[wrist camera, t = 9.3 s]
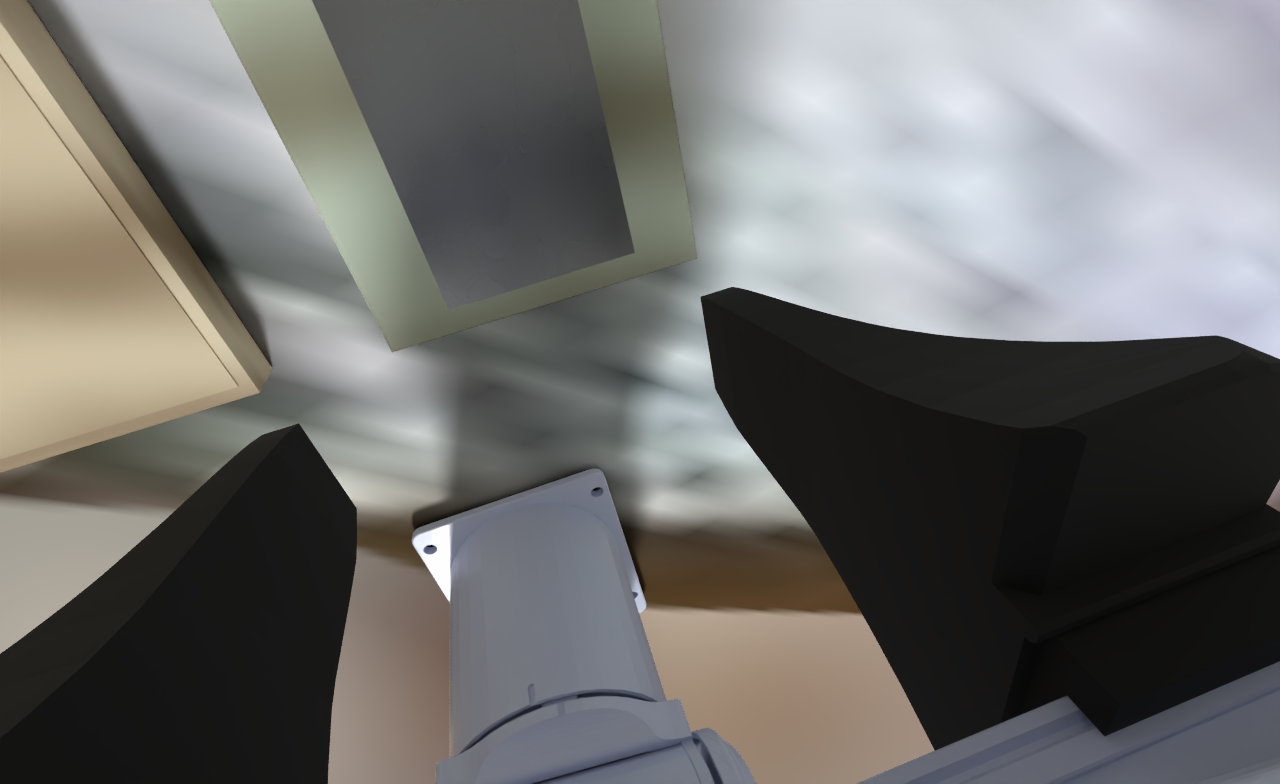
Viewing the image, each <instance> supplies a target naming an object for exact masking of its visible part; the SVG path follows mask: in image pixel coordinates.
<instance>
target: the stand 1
mask: <svg viewBox="0 0 1280 784" xmlns="http://www.w3.org/2000/svg"><path fill="white" fill-rule="evenodd" d="M271 371H272V367H271V366H270V364H269V363H268V361H267V360H266V358H265V357H264V355H263V354H262V352H261V351H260V349H259V348H258V346H257V345H256V343H255V342H254V340H253V339H252V337H251V336H250V334H249V333H248V331H247V330H246V328H245V327H244V325H243V324H242V322H241V321H240V319H239V318H238V316H237V315H236V313H235V312H234V310H233V309H232V307H231V306H230V304H229V303H228V301H227V300H226V298H225V297H224V295H223V294H222V292H221V291H220V289H219V288H218V286H217V285H216V283H215V282H214V280H213V279H212V277H211V276H210V274H209V273H208V271H207V270H206V268H205V267H204V265H203V264H202V262H201V261H200V259H199V258H198V256H197V255H196V253H195V252H194V250H193V249H192V247H191V246H190V244H189V243H188V241H187V240H186V238H185V237H184V235H183V234H182V232H181V231H180V229H179V228H178V226H177V225H176V223H175V222H174V220H173V219H172V217H171V216H170V214H169V213H168V211H167V210H166V208H165V207H164V205H163V204H162V202H161V201H160V199H159V198H158V196H157V195H156V193H155V192H154V190H153V189H152V187H151V186H150V184H149V183H148V181H147V180H146V178H145V177H144V175H143V174H142V172H141V171H140V169H139V168H138V166H137V165H136V163H135V162H134V160H133V159H132V157H131V156H130V154H129V153H128V151H127V150H126V148H125V147H124V145H123V144H122V142H121V141H120V139H119V138H118V136H117V135H116V133H115V132H114V130H113V129H112V127H111V126H110V124H109V123H108V121H107V120H106V118H105V117H104V115H103V114H102V112H101V111H100V109H99V108H98V106H97V105H96V103H95V102H94V100H93V99H92V97H91V96H90V94H89V93H88V91H87V90H86V88H85V87H84V85H83V84H82V82H81V81H80V79H79V78H78V76H77V75H76V73H75V72H74V70H73V69H72V67H71V66H70V64H69V63H68V61H67V60H66V58H65V57H64V55H63V54H62V52H61V51H60V49H59V48H58V46H57V45H56V43H55V42H54V40H53V39H52V37H51V36H50V34H49V33H48V31H47V30H46V28H45V27H44V25H43V24H42V22H41V21H40V19H39V18H38V16H37V15H36V13H35V12H34V10H33V9H32V7H31V6H30V4H29V3H28V1H27V0H0V472H3V471H7V470H10V469H13V468H16V467H20V466H23V465H26V464H29V463H33V462H36V461H39V460H42V459H46V458H49V457H52V456H55V455H59V454H62V453H65V452H68V451H72V450H75V449H78V448H81V447H85V446H88V445H91V444H94V443H98V442H101V441H104V440H107V439H111V438H114V437H117V436H120V435H124V434H127V433H130V432H133V431H137V430H140V429H143V428H146V427H150V426H153V425H156V424H159V423H163V422H166V421H169V420H172V419H176V418H179V417H182V416H185V415H189V414H192V413H195V412H198V411H202V410H205V409H208V408H211V407H215V406H218V405H221V404H224V403H228V402H231V401H234V400H237V399H241V398H244V397H247V396H250V395H254V394H257V393H260V392H261V390H262V388H263V386H264V384H265V382H266V380H267V378H268V376H269V374H270V372H271Z"/></svg>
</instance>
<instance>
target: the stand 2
mask: <svg viewBox="0 0 1280 784" xmlns="http://www.w3.org/2000/svg"><path fill="white" fill-rule="evenodd" d="M209 1H210V3H211V5H212V7H213V9H214V11H215V13H216V15H217V16H218V18H219V20H220V22H221V24H222V26H223V28H224V30H225V32H226V34H227V36H228V38H229V40H230V41H231V43H232V45H233V47H234V49H235V51H236V53H237V55H238V57H239V59H240V61H241V63H242V65H243V66H244V68H245V70H246V72H247V74H248V76H249V78H250V80H251V82H252V84H253V86H254V88H255V90H256V91H257V93H258V95H259V97H260V99H261V101H262V103H263V105H264V107H265V109H266V111H267V113H268V115H269V116H270V118H271V120H272V122H273V124H274V126H275V128H276V130H277V132H278V134H279V136H280V138H281V140H282V141H283V143H284V145H285V147H286V149H287V151H288V153H289V155H290V157H291V159H292V161H293V163H294V165H295V166H296V168H297V170H298V172H299V174H300V176H301V178H302V180H303V182H304V184H305V186H306V188H307V190H308V191H309V193H310V195H311V197H312V199H313V201H314V203H315V205H316V207H317V209H318V211H319V213H320V215H321V216H322V218H323V220H324V222H325V224H326V226H327V228H328V230H329V232H330V234H331V236H332V238H333V240H334V241H335V243H336V245H337V247H338V249H339V251H340V253H341V255H342V257H343V259H344V261H345V263H346V265H347V266H348V268H349V270H350V272H351V274H352V276H353V278H354V280H355V282H356V284H357V286H358V288H359V290H360V291H361V293H362V295H363V297H364V299H365V301H366V303H367V305H368V307H369V309H370V311H371V313H372V315H373V316H374V318H375V320H376V322H377V324H378V326H379V328H380V330H381V332H382V334H383V336H384V338H385V340H386V341H387V343H388V345H389V347H390V349H391V351H392V352H394V351H397V350H400V349H404V348H407V347H410V346H414V345H417V344H420V343H423V342H427V341H430V340H433V339H436V338H440V337H443V336H446V335H449V334H453V333H456V332H459V331H462V330H466V329H469V328H472V327H475V326H479V325H482V324H485V323H488V322H492V321H495V320H498V319H501V318H505V317H508V316H511V315H514V314H518V313H521V312H524V311H527V310H531V309H534V308H537V307H540V306H544V305H547V304H550V303H553V302H557V301H560V300H563V299H566V298H570V297H573V296H576V295H579V294H583V293H586V292H589V291H592V290H596V289H599V288H602V287H605V286H609V285H612V284H615V283H618V282H622V281H625V280H628V279H631V278H635V277H638V276H641V275H644V274H648V273H651V272H654V271H657V270H661V269H664V268H667V267H670V266H674V265H677V264H680V263H683V262H687V261H690V260H693V259H696V258H697V253H696V247H695V241H694V235H693V228H692V222H691V216H690V209H689V203H688V197H687V191H686V184H685V178H684V172H683V165H682V159H681V153H680V146H679V140H678V134H677V128H676V121H675V115H674V109H673V102H672V96H671V90H670V84H669V77H668V71H667V65H666V58H665V52H664V46H663V40H662V33H661V27H660V21H659V14H658V8H657V2H656V0H578V3H579V8H580V12H581V17H582V21H583V25H584V30H585V34H586V39H587V43H588V47H589V52H590V56H591V61H592V65H593V70H594V74H595V78H596V83H597V87H598V92H599V96H600V101H601V105H602V109H603V114H604V118H605V123H606V127H607V131H608V136H609V140H610V145H611V149H612V154H613V158H614V162H615V167H616V171H617V176H618V180H619V184H620V189H621V193H622V198H623V202H624V207H625V211H626V215H627V220H628V224H629V229H630V233H631V237H632V242H633V246H634V251H635V253H633V254H629V255H626V256H623V257H620V258H616V259H613V260H610V261H607V262H603V263H600V264H597V265H594V266H590V267H587V268H584V269H581V270H577V271H574V272H571V273H568V274H564V275H561V276H558V277H555V278H551V279H548V280H545V281H542V282H538V283H535V284H532V285H529V286H525V287H522V288H519V289H516V290H512V291H509V292H506V293H503V294H499V295H496V296H493V297H490V298H486V299H483V300H480V301H477V302H473V303H470V304H467V305H464V306H460V307H457V308H454V309H451V310H448V307H447V305H446V303H445V301H444V298H443V296H442V294H441V291H440V289H439V287H438V285H437V282H436V280H435V278H434V276H433V273H432V271H431V269H430V267H429V264H428V262H427V260H426V257H425V255H424V253H423V251H422V248H421V246H420V244H419V242H418V239H417V237H416V235H415V233H414V230H413V228H412V226H411V223H410V221H409V219H408V217H407V214H406V212H405V210H404V208H403V205H402V203H401V201H400V199H399V196H398V194H397V192H396V190H395V187H394V185H393V183H392V180H391V178H390V176H389V174H388V171H387V169H386V167H385V165H384V162H383V160H382V158H381V156H380V153H379V151H378V149H377V146H376V144H375V142H374V140H373V137H372V135H371V133H370V131H369V128H368V126H367V124H366V122H365V119H364V117H363V115H362V112H361V110H360V108H359V106H358V103H357V101H356V99H355V97H354V94H353V92H352V90H351V88H350V85H349V83H348V81H347V79H346V76H345V74H344V72H343V69H342V67H341V65H340V63H339V60H338V58H337V56H336V54H335V51H334V49H333V47H332V45H331V42H330V40H329V38H328V35H327V33H326V31H325V29H324V26H323V24H322V22H321V20H320V17H319V15H318V13H317V11H316V8H315V6H314V4H313V1H312V0H209Z"/></svg>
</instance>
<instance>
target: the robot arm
mask: <svg viewBox="0 0 1280 784" xmlns="http://www.w3.org/2000/svg"><path fill="white" fill-rule="evenodd" d="M701 303H702V309H703V315H704V321H705V328H706V334H707V340H708V346H709V352H710V358H711V365H712V371H713V377H714V383H715V389H716V391H717V393H718V395H719V397H720V398H721V400H722V402H723V404H724V406H725V408H726V410H727V411H728V413H729V415H730V417H731V419H732V420H733V422H734V424H735V426H736V427H737V429H738V430H739V432H740V433H741V434H742V436H743V437H744V439H745V440H746V441H747V443H748V444H749V445H750V447H751V448H752V449H753V451H754V452H755V453H756V455H757V456H758V457H759V459H760V460H761V461H762V462H763V464H764V465H765V466H766V468H767V469H768V470H769V472H770V473H771V474H772V476H773V477H774V478H775V480H776V481H777V482H778V483H779V485H780V486H781V487H782V489H783V490H784V491H785V493H786V494H787V495H788V497H789V498H790V499H791V501H792V502H793V503H794V504H795V506H796V507H797V508H798V510H799V511H800V512H801V514H802V515H803V517H804V518H805V520H806V521H807V523H808V524H809V525H810V527H811V528H812V530H813V531H814V533H815V534H816V536H817V538H818V539H819V541H820V543H821V544H822V546H823V548H824V549H825V551H826V553H827V554H828V556H829V558H830V559H831V561H832V563H833V564H834V566H835V568H836V569H837V571H838V573H839V574H840V576H841V578H842V580H843V581H844V583H845V585H846V587H847V588H848V590H849V592H850V594H851V595H852V597H853V599H854V601H855V602H856V604H857V606H858V608H859V609H860V611H861V613H862V615H863V616H864V618H865V620H866V622H867V623H868V625H869V626H870V629H871V630H872V632H873V634H874V636H875V637H876V640H877V641H878V643H879V645H880V647H881V649H882V651H883V653H884V654H885V656H886V658H887V660H888V662H889V663H890V665H891V667H892V669H893V671H894V673H895V675H896V676H897V678H898V680H899V682H900V684H901V686H902V688H903V689H904V691H905V693H906V695H907V697H908V699H909V701H910V703H911V705H912V707H913V709H914V711H915V713H916V714H917V716H918V718H919V720H920V722H921V724H922V726H923V728H924V730H925V732H926V734H927V736H928V738H929V740H930V742H931V744H932V746H933V748H934V750H935V751H933V752H931V753H928V754H926V755H924V756H921V757H919V758H917V759H914V760H912V761H909V762H907V763H905V764H902V765H900V766H897V767H895V768H893V769H890V770H888V771H885V772H883V773H881V774H879V775H876V776H873V777H871V778H869V779H866V780H864V781H862V782H859V783H857V784H1280V512H1279V511H1277V510H1276V509H1274V508H1272V507H1270V506H1269V505H1267V504H1266V503H1267V501H1268V499H1269V498H1270V496H1271V494H1272V492H1273V490H1274V489H1275V487H1276V485H1277V483H1278V482H1279V480H1280V359H1278V358H1275V357H1273V356H1270V355H1268V354H1266V353H1263V352H1261V351H1258V350H1256V349H1253V348H1251V347H1248V346H1246V345H1244V344H1241V343H1239V342H1236V341H1233V340H1231V339H1228V338H1225V337H1221V336H1200V337H1182V338H1164V339H1146V340H1129V341H1107V342H1036V341H1007V340H993V339H978V338H964V337H954V336H944V335H935V334H929V333H922V332H915V331H908V330H901V329H895V328H889V327H884V326H879V325H874V324H869V323H865V322H861V321H856V320H852V319H847V318H843V317H839V316H835V315H831V314H827V313H824V312H820V311H816V310H813V309H809V308H806V307H802V306H799V305H796V304H792V303H789V302H786V301H782V300H779V299H776V298H773V297H769V296H766V295H763V294H759V293H756V292H752V291H749V290H745V289H741V288H735V287H731V288H727V289H724V290H721V291H718V292H715V293H712V294H708V295H705V296H702V297H701ZM596 487H600V489H599V490H597V491H592V490H593V489H594V488H596ZM412 543H413V546H414V547H415V549H416V550H417V552H418V554H419V555H420V557H421V558H422V560H423V561H424V563H425V565H426V566H427V568H428V569H429V571H430V572H431V574H432V576H433V577H434V579H435V580H436V582H437V583H438V585H439V587H440V588H441V590H442V591H443V593H444V594H445V596H446V598H447V599H448V601H449V602H450V740H449V745H450V746H449V747H450V748H449V749H450V750H449V751H450V752H449V758H448V759H445V760H441V761H439V762H438V763H437V764H436V784H756V782H755V780H754V778H753V776H752V774H751V772H750V770H749V768H748V766H747V765H746V763H745V761H744V760H743V758H742V757H741V755H740V754H739V753H738V751H737V750H736V749H735V748H734V747H733V746H731V745H730V744H729V743H727V742H726V741H725V740H723V739H722V738H721V737H720V736H719V735H718V734H717V733H716V732H715V731H714V730H712V729H710V728H704V729H700V730H696V731H693V732H691V731H690V728H689V725H688V722H687V719H686V716H685V713H684V710H683V707H682V704H681V701H680V700H678V699H674V700H669V701H667V700H666V697H665V694H664V691H663V688H662V685H661V681H660V678H659V675H658V672H657V669H656V666H655V662H654V659H653V656H652V653H651V650H650V646H649V643H648V640H647V637H646V634H645V631H644V628H643V624H642V621H641V618H640V615H639V613H641V612H642V611H644V610H645V608H646V601H645V598H644V595H643V592H642V589H641V586H640V583H639V580H638V576H637V573H636V570H635V567H634V564H633V561H632V558H631V555H630V552H629V549H628V546H627V543H626V540H625V537H624V534H623V530H622V527H621V524H620V521H619V518H618V515H617V512H616V509H615V506H614V503H613V500H612V497H611V494H610V491H609V487H608V484H607V481H606V478H605V475H604V473H603V472H602V471H601V470H599V469H595V468H594V469H589V470H586V471H583V472H580V473H577V474H574V475H571V476H568V477H565V478H562V479H560V480H557V481H554V482H551V483H548V484H545V485H542V486H539V487H536V488H533V489H530V490H527V491H524V492H521V493H518V494H515V495H513V496H510V497H507V498H504V499H501V500H498V501H495V502H492V503H489V504H486V505H483V506H480V507H477V508H474V509H471V510H468V511H465V512H463V513H460V514H457V515H454V516H451V517H448V518H445V519H442V520H439V521H436V522H433V523H430V524H427V525H424V526H421V527H419V528H417V529H416V530H415V531H414V532H413V535H412ZM427 545H435V546H434V547H426V546H427ZM356 550H357V508H356V507H355V505H354V504H353V502H352V501H351V500H350V498H349V497H348V495H347V494H346V492H345V491H344V489H343V488H342V486H341V485H340V483H339V482H338V480H337V479H336V477H335V476H334V475H333V473H332V472H331V470H330V469H329V467H328V466H327V464H326V463H325V461H324V460H323V458H322V457H321V455H320V454H319V452H318V451H317V450H316V448H315V447H314V445H313V444H312V442H311V441H310V439H309V438H308V436H307V435H306V433H305V432H304V430H303V429H302V427H301V426H300V425H299V424H296V425H292V426H289V427H286V428H283V429H280V430H277V431H273V432H270V433H267V434H264V435H262V436H260V437H259V438H257V439H256V440H254V441H253V442H252V443H250V444H249V445H248V446H246V447H245V448H244V449H243V450H242V451H240V452H239V453H238V454H237V455H236V456H234V457H233V458H232V459H231V460H230V461H229V462H228V463H227V464H225V465H224V466H223V467H222V468H221V469H220V470H219V471H218V472H217V473H216V474H214V475H213V476H212V477H211V478H210V479H209V480H208V481H207V482H206V483H205V484H204V485H203V486H201V487H200V488H199V489H198V490H197V491H196V492H195V493H194V494H193V495H192V496H191V497H190V498H188V499H187V500H186V501H185V502H184V503H183V504H182V505H181V506H180V507H179V508H178V509H177V510H175V511H174V512H173V513H172V514H171V515H170V516H169V517H168V518H167V519H166V520H165V521H164V522H162V523H161V524H160V525H159V526H158V527H157V528H156V529H155V530H153V531H152V532H151V533H150V534H149V535H148V536H147V537H145V538H144V539H143V540H142V541H141V542H140V543H139V544H137V545H136V546H135V547H134V548H133V549H132V550H131V551H129V552H128V553H127V554H126V555H125V556H124V557H123V558H121V559H120V560H119V561H118V562H117V563H116V564H115V565H114V566H112V567H111V568H110V569H109V570H108V571H107V572H105V573H104V574H103V575H102V576H101V577H99V578H98V579H97V580H96V581H95V582H93V583H92V584H91V585H90V586H89V587H87V588H86V589H85V590H84V591H82V592H81V593H80V594H79V595H77V596H76V597H75V598H74V599H72V600H71V601H70V602H69V603H67V604H66V605H65V606H64V607H62V608H61V609H60V610H58V611H57V612H56V613H54V614H53V615H52V616H51V617H49V618H48V619H47V620H45V621H44V622H43V623H41V624H40V625H39V626H37V627H36V628H35V629H33V630H32V631H31V632H29V633H28V634H27V635H26V636H24V637H23V638H22V639H20V640H19V641H18V642H16V643H15V644H13V645H12V646H11V647H9V648H8V649H6V650H5V651H4V652H2V653H1V654H0V784H328V763H329V746H330V729H331V728H330V727H331V712H332V703H333V695H334V687H335V679H336V674H337V669H338V663H339V657H340V652H341V646H342V640H343V635H344V629H345V624H346V618H347V612H348V607H349V601H350V595H351V589H352V583H353V576H354V571H355V564H356Z"/></svg>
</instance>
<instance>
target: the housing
mask: <svg viewBox="0 0 1280 784" xmlns="http://www.w3.org/2000/svg"><path fill="white" fill-rule="evenodd" d="M312 1H313V4H314V6H315V8H316V11H317V13H318V15H319V17H320V20H321V22H322V24H323V26H324V29H325V31H326V33H327V35H328V38H329V40H330V42H331V45H332V47H333V49H334V51H335V54H336V56H337V58H338V60H339V63H340V65H341V67H342V69H343V72H344V74H345V76H346V79H347V81H348V83H349V85H350V88H351V90H352V92H353V94H354V97H355V99H356V101H357V103H358V106H359V108H360V110H361V112H362V115H363V117H364V119H365V122H366V124H367V126H368V128H369V131H370V133H371V135H372V137H373V140H374V142H375V144H376V146H377V149H378V151H379V153H380V156H381V158H382V160H383V162H384V165H385V167H386V169H387V171H388V174H389V176H390V178H391V180H392V183H393V185H394V187H395V190H396V192H397V194H398V196H399V199H400V201H401V203H402V205H403V208H404V210H405V212H406V214H407V217H408V219H409V221H410V223H411V226H412V228H413V230H414V233H415V235H416V237H417V239H418V242H419V244H420V246H421V248H422V251H423V253H424V255H425V257H426V260H427V262H428V264H429V267H430V269H431V271H432V273H433V276H434V278H435V280H436V282H437V285H438V287H439V289H440V291H441V294H442V296H443V298H444V301H445V303H446V305H447V307H448V310H451V309H454V308H457V307H460V306H464V305H467V304H470V303H473V302H477V301H480V300H483V299H486V298H490V297H493V296H496V295H499V294H503V293H506V292H509V291H512V290H516V289H519V288H522V287H525V286H529V285H532V284H535V283H538V282H542V281H545V280H548V279H551V278H555V277H558V276H561V275H564V274H568V273H571V272H574V271H577V270H581V269H584V268H587V267H590V266H594V265H597V264H600V263H603V262H607V261H610V260H613V259H616V258H620V257H623V256H626V255H629V254H633V253H635V251H634V246H633V242H632V237H631V233H630V229H629V224H628V220H627V215H626V211H625V207H624V202H623V198H622V193H621V189H620V184H619V180H618V176H617V171H616V167H615V162H614V158H613V154H612V149H611V145H610V140H609V136H608V131H607V127H606V123H605V118H604V114H603V109H602V105H601V101H600V96H599V92H598V87H597V83H596V78H595V74H594V70H593V65H592V61H591V56H590V52H589V47H588V43H587V39H586V34H585V30H584V25H583V21H582V17H581V12H580V8H579V3H578V0H312Z"/></svg>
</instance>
